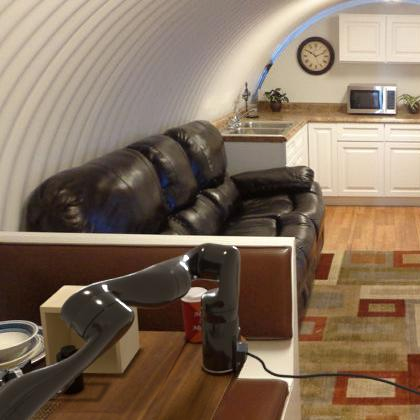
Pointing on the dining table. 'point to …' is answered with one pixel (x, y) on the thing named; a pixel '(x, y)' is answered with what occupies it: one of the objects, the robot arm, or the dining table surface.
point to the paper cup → (193, 314)
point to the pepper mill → (79, 380)
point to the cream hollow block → (63, 336)
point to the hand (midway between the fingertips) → (50, 363)
